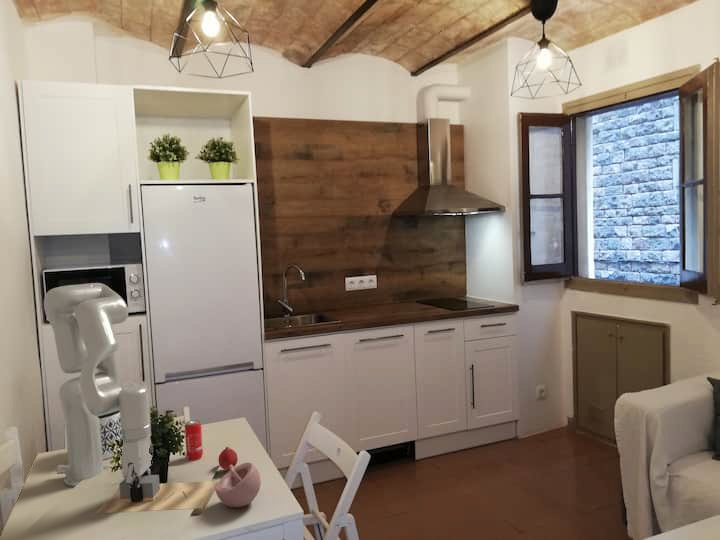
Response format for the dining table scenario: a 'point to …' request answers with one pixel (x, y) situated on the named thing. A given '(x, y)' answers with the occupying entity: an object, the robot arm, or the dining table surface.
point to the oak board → (167, 499)
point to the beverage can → (193, 439)
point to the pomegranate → (227, 458)
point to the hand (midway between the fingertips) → (141, 495)
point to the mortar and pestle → (239, 485)
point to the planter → (109, 432)
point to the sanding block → (148, 485)
